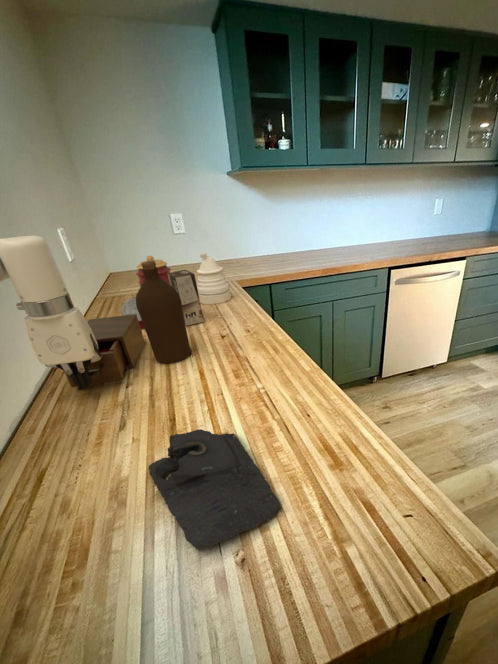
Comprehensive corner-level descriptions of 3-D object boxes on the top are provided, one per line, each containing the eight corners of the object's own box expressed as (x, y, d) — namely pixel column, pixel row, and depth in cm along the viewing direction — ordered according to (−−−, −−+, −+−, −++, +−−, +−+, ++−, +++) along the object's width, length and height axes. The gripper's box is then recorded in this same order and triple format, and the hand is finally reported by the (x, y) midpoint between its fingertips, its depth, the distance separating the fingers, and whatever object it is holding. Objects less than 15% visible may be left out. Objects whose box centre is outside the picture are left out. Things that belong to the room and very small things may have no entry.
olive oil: (171, 368, 86) (143, 269, 74) (144, 359, 91) (114, 265, 79) (201, 351, 94) (180, 259, 81) (175, 344, 99) (152, 256, 86)
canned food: (157, 331, 121) (165, 307, 117) (143, 340, 112) (150, 314, 108) (128, 317, 120) (134, 292, 116) (110, 325, 111) (116, 298, 107)
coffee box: (205, 321, 114) (195, 273, 106) (186, 326, 111) (174, 277, 103) (196, 314, 121) (185, 268, 113) (178, 318, 118) (166, 272, 110)
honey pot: (215, 305, 128) (206, 257, 119) (192, 301, 134) (181, 254, 125) (237, 296, 138) (230, 250, 128) (215, 292, 144) (206, 248, 135)
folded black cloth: (180, 575, 40) (170, 552, 38) (147, 464, 57) (139, 443, 54) (290, 514, 47) (288, 490, 45) (232, 430, 63) (228, 410, 61)
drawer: (118, 388, 77) (108, 360, 73) (65, 396, 75) (51, 368, 72) (136, 352, 94) (128, 328, 90) (92, 358, 92) (82, 333, 88)
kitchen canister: (173, 293, 146) (162, 251, 137) (181, 300, 136) (170, 255, 128) (142, 299, 141) (128, 255, 132) (147, 307, 131) (134, 260, 122)
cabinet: (133, 368, 88) (122, 336, 83) (81, 375, 86) (67, 343, 81) (145, 342, 102) (136, 313, 97) (100, 348, 100) (89, 319, 95)
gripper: (-5, 317, 60) (40, 401, 69) (84, 307, 62) (117, 390, 71) (16, 304, 66) (55, 383, 76) (97, 295, 69) (125, 373, 78)
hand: (85, 386), depth 74 cm, fingers closed
